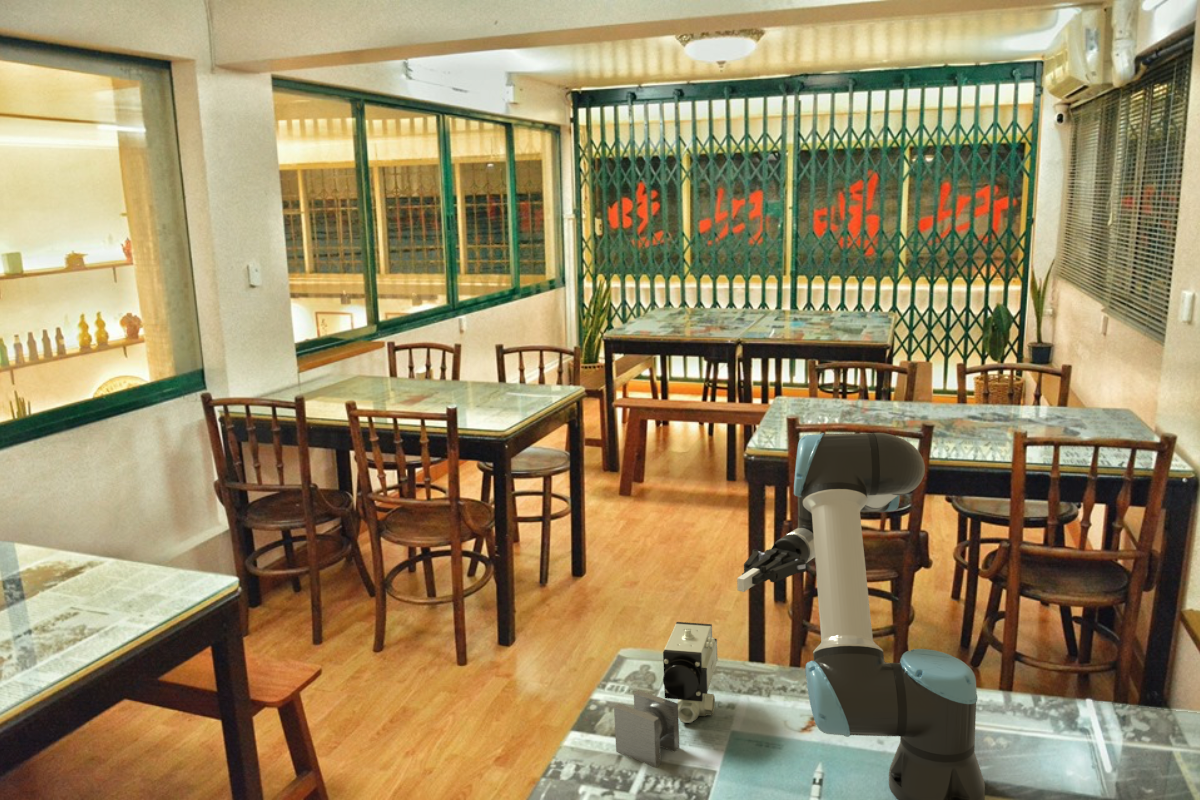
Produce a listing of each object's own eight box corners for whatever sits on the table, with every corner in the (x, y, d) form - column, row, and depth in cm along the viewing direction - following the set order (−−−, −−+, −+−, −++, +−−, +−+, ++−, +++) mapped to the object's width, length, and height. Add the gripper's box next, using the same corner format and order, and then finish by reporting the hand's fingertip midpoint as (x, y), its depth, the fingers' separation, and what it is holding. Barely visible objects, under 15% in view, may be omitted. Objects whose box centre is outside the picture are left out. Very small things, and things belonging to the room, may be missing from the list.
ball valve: (708, 740, 174) (705, 652, 170) (663, 735, 176) (660, 648, 173) (721, 693, 191) (719, 612, 187) (680, 689, 193) (678, 609, 190)
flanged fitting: (679, 748, 172) (677, 703, 170) (655, 767, 166) (654, 721, 164) (640, 733, 177) (638, 689, 176) (616, 751, 172) (614, 706, 170)
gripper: (822, 571, 203) (769, 609, 185) (769, 560, 211) (713, 595, 193) (821, 539, 202) (768, 574, 184) (768, 528, 210) (712, 561, 192)
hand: (740, 585), depth 189 cm, fingers closed
